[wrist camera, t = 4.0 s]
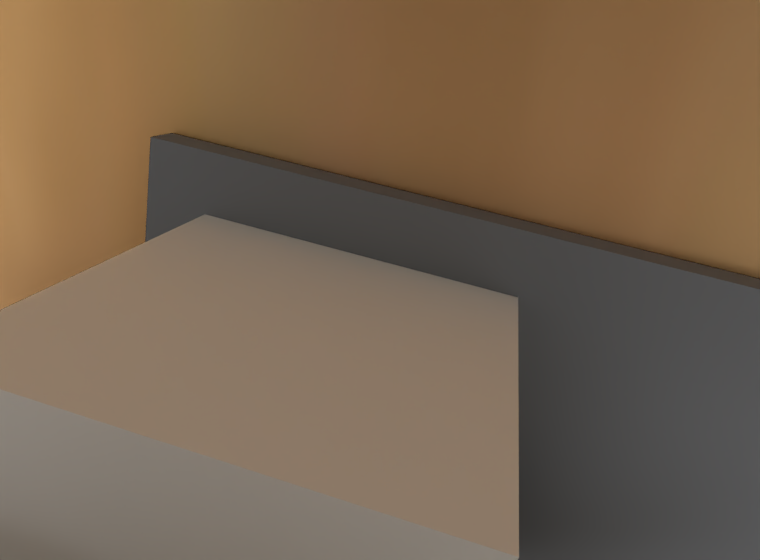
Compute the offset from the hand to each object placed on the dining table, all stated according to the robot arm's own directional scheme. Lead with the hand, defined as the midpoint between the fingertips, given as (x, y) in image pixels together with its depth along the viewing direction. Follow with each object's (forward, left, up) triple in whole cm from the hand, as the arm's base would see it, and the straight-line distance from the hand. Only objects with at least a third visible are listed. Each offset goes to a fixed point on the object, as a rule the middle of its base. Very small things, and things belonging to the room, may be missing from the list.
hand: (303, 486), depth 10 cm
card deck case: (0, 0, -1) cm, 1 cm away
